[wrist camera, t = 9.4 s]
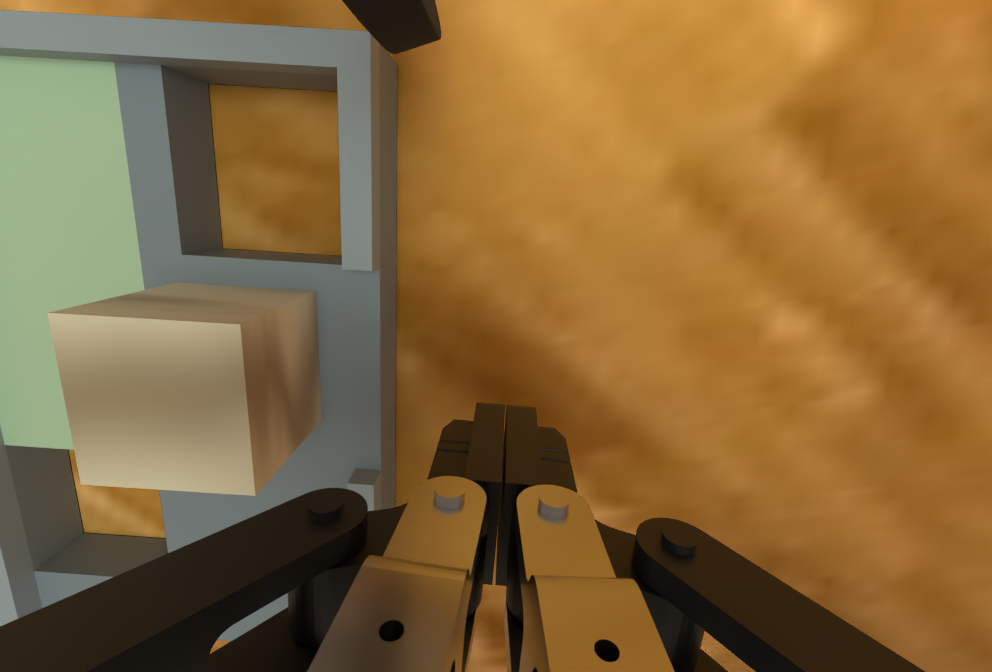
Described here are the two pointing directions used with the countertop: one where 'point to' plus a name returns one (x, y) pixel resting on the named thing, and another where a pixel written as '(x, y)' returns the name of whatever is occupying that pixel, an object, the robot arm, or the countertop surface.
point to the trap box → (175, 262)
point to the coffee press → (398, 22)
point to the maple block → (189, 385)
